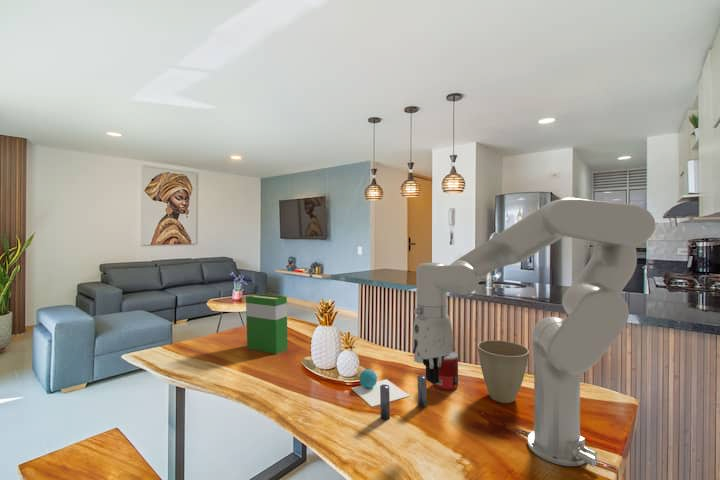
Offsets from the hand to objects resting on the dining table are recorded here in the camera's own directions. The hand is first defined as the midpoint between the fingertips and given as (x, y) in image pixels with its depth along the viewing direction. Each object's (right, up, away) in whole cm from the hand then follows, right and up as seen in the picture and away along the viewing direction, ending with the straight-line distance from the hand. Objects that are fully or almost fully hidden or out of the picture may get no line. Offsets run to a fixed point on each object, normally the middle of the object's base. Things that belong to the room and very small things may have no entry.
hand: (432, 381), depth 89 cm
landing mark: (-12, -14, +24) cm, 30 cm away
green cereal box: (-61, -13, +69) cm, 93 cm away
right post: (0, -14, +15) cm, 20 cm away
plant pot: (+26, -13, +20) cm, 35 cm away
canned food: (+11, -13, +28) cm, 33 cm away
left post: (-12, -14, +9) cm, 20 cm away
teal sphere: (-16, -11, +28) cm, 34 cm away
